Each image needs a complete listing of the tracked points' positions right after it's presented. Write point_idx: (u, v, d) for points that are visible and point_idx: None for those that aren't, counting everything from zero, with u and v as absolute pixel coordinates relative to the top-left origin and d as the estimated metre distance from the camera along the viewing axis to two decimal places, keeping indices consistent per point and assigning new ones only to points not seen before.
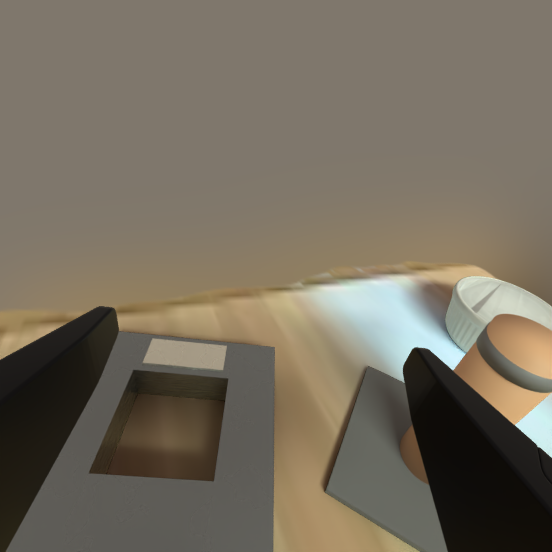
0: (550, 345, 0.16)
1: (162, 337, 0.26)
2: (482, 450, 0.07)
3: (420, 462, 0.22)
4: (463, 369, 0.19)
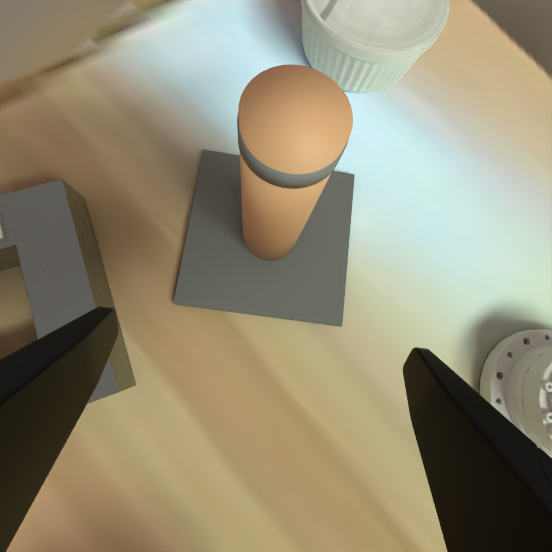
0: (319, 113, 0.11)
1: None
2: (482, 450, 0.07)
3: (255, 249, 0.22)
4: None
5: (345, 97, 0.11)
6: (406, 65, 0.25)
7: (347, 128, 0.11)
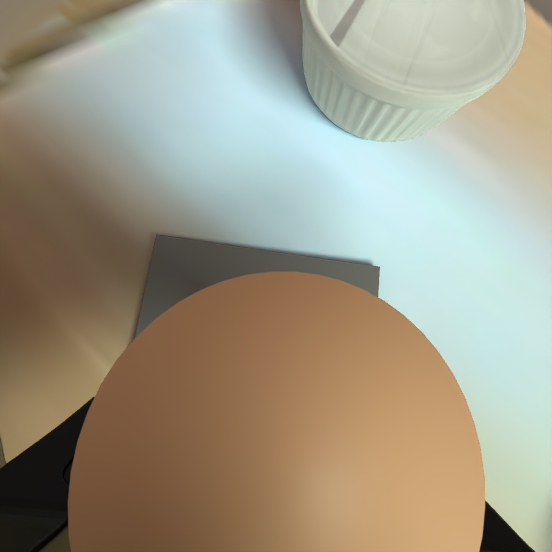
0: (370, 463, 0.03)
1: None
2: None
3: None
4: None
5: (452, 384, 0.03)
6: (457, 108, 0.17)
7: (470, 522, 0.03)
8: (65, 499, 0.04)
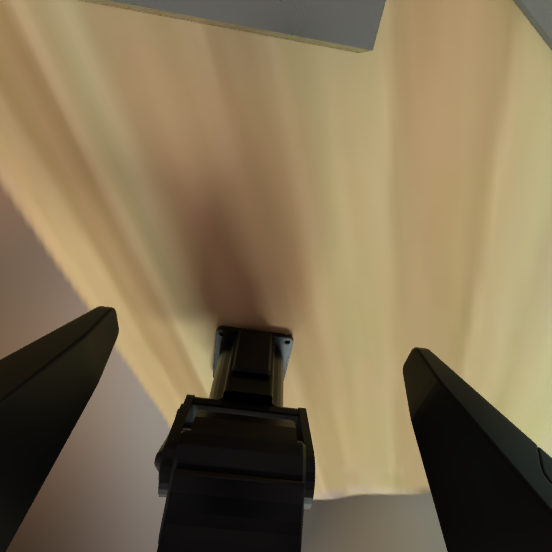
0: None
1: None
2: (482, 450, 0.07)
3: None
4: None
5: None
6: None
7: None
8: None
